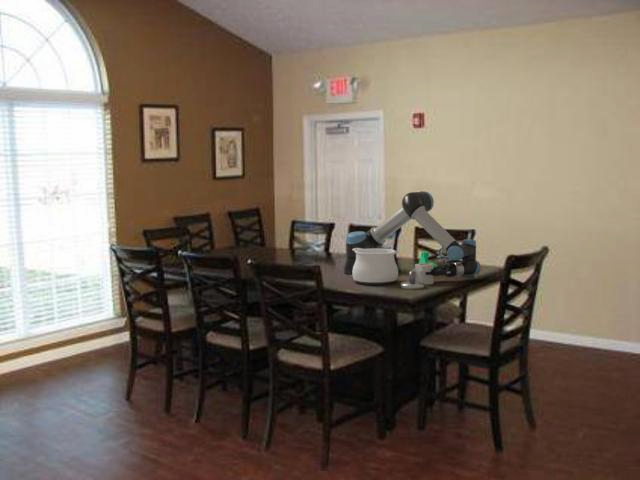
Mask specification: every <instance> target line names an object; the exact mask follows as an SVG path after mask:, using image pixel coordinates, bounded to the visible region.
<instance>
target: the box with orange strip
mask: <svg viewBox="0 0 640 480" xmlns="http://www.w3.org/2000/svg"><path fill="white" fill-rule="evenodd" d="M430 263H431V262H430ZM430 263H429V262H428V263H422V264H419V263H415V264H414V269H415V282H423V283H424V286H425V285H426V286H427V285H433V284H434V275H433V276H432V275H431V276H419V271H427V270H431V269H433V265H432V264H430Z"/></svg>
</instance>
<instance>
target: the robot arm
mask: <svg viewBox="0 0 640 480" xmlns="http://www.w3.org/2000/svg"><path fill="white" fill-rule="evenodd" d="M434 202H435V200H434V197H433V196H432V194H431V193H429V191H425V190H422V191H412V192H411V191H410V192H408V193H406V194H405V195H404V196H403V198H402V201H401V206H402V207H400V208H399V209H397V211H395V212H394V213H393V214H392V215H390V216H389V217H388V218H386V219H385V220H384V221H383V222H381V223H380V224H378V226H373V227H371V228H370V229H369V230H368V231H366V232H365V231H362V230H361V231H360V230H359V231H352V232H348V233H347V234H346V237H345V238H346V239H345V244H346V245H345V246H346V247H345V249H346V250H345V254H346V255H345V257H346V260H345V263H344V266H343V273H344V274H347V275H353V274H352V271H353V266H354V264H355V261H356V253H355V251H356V250H355V251H353V250H352V249H354V248H361V249H383V246H384V244H385V243H386V239H388V238H389V237H390V236H391V235H393V234H394V233H396V232H397V230H399V229H400V228H402V227H403V226H404V225H405V224H407V223H409V221H411V220H415V221H416V222H417V223H418V225H420V227H421V228H423V229H424V231H426V232H427V233H428V234H429V235H430V236H431V237H432V239H433V240H435V241H436V242H437V243H438V244H439V245H440V246H441V248H442V247H443V248H444V249H445V250H446V251H447V255H448V257H449V259H451V261H452V260H453V261H454V262H446V263H445V264H444V265H443V266H438V267H437V266H436V267H433V269H431V270H427V271H419V276H431V275H432V276H433V277H439V276H445V277H446V278H453V277H457V278H459V277H467V276H469V277H470V276H475V275H479V274H480V272H481V269H482V267H481V263H480V262H479V261H477V241H476V240H475V239H463V240H461V244H460V243H459V242H458V241H457V240H456V239H455V238H454V237H453V236H452V235H451V234H450V233H449V232H448V231H447V230H446V229H445V228H444V227H443V226H442V225H441V224H440V222H438V221H437V220H436V219H435V218H434V217H433V216H432V215H431V214H430V213H429V212H430V211H432V210H433V207H434ZM455 261H457V262H455ZM411 271H415V268H411Z"/></svg>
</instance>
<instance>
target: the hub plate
mask: <svg viewBox="0 0 640 480" xmlns="http://www.w3.org/2000/svg"><path fill="white" fill-rule="evenodd" d="M424 288H425V285H424V283H423V282H415V271H412V270H411V271H409V281H402V282H400V289H403V290H421V289H424Z"/></svg>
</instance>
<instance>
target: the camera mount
mask: <svg viewBox="0 0 640 480" xmlns="http://www.w3.org/2000/svg"><path fill="white" fill-rule="evenodd" d="M429 258H430V254H429V251H428V250H427V251H421V253H420V258H419V261H418V264H422V263H430V264H432V265H433V267H436V266H437V267H439V266H438V264H436V263H434V262H429V261H428V259H429Z"/></svg>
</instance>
